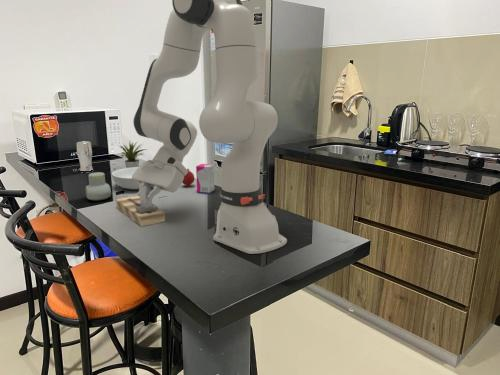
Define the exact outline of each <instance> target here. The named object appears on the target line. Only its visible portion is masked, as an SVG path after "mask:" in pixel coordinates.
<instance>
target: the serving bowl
mask: <svg viewBox="0 0 500 375" xmlns="http://www.w3.org/2000/svg"><path fill="white" fill-rule="evenodd" d="M137 169H138V167H131V168H126V167H125V168H121V169H120V168H119V169H117V170H114V171H113V172H112V173H111V176H112V180H113V182H114V183H115V185H117V186H119V187H120V188H123V189H126V190H127V189H129V190H134V191H135V190H136V191H137V190H138V191H139V186H140V184H138V183H137V182H135V181H134V180H133V179H132V175H133V174H134V172H135V171H136V170H137Z"/></svg>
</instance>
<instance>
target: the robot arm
mask: <svg viewBox="0 0 500 375" xmlns="http://www.w3.org/2000/svg"><path fill="white" fill-rule="evenodd" d="M172 7H173V8H172V10H171V11H170V14H169V17H168V19H167V20H168V21H167V23H166V27H165V32H164V36H163V43H162V49H161V52H160V54H159V55H158V57H157V58H155V59H153V60H152V62H151V64H150V66H149V69H148V72H147V75H146V79H145V81H144V82H145V83H144V86H143V91H142V94H141V98H140V101H139V105H138V108H137V109H136V111H135V114H134V116H133V126H134V130H135V132H136V133H137V135H138V136H140V137H144V138H148V139H152V140H154V141H157V142H159V143H163V145H162V146H160V147H159V149H158V150H157V152H156V154H155V155H154V157H153V158H152V159H148V160H146V161H144V162H142V163H140V164H139V167H138V169H137V170H136V171H135V172H134V174H133V175H132V179H133V180H134V181H135V182H137V183H138V184H140V186H143V185H147V186H151V188H153V189H151V192H148V193H147V195H146V197H147V198H148V199H150V200H152V201H153V198H155V196H157V195H158V194H160V193H161V190H162V191H165V192H170V193H175V192H177V191H178V189H179V188H180V186H181V185H182V184H183V183H182V181H183V179H184V176H185V175H187V173H188V170H187V169H188V168H186V166H184V165H183V160H184V158H185V157H186V155H188V154H189V152H190V150H191V149H192V148H193V145H194V143H195V141H196V139H197V136H198V129H197V128H196V126H195V125H194V124H193V123H192V122H190V121H188V120H186V119H183V118H182V117H179V116H177V115H175V114H171V113H169V112H164V111H162V110H160V109H159V108H158V103H159V100H160V96H161V93H162V89H163V86H164V84H165V83H166V82H167V81H169V80H171V79H176V78H184V77H187V76H189V75H191V74H193V73H194V71H196V69H197V67H198V65H199V60H200V56H201V55H200V54H201V48H202V41H203V37H204V35H205V33H206V32H207V31H209V30H210V31H211V32H212V33H213V36H214V48H215V51H214V52H215V67H216V68H215V69H216V79H215V80H216V81H215V87H214V90H213V94H212V97H211V99H210V101H209V102H208V103H207V105H206V106H205V107H203V109H202V111H201V113H200V115H199V120H198V126H199V130H200V132H201V134H202V136H203V138H204V139H206V141H208V142H211V143H218V144H230V143H232V146H231V149H230V151H229V152H228V154H227V155H226V156H225V157H224V158H223V159H222V162H221V165H220V166H221V169H220V170H221V172H220V173H221V176H220V177H221V178H220V179H221V186H220V190H219V201H220V202H221V203H220V205H219V208H218V211H217V217H216V229H215V230H216V231H215V233H214V235H212V236H213V237H212V239H213V241H215V242H217V243H218V242H219V243H221V244H223V245H226V246H227V247H230V248H233V249H236V250H238V251H241V252H243V253H246V254H249V255H250V254H251V255H253V254H254V255H255V254H262V253H268V252H271V251H274V250H277V249H279V248H282V247H283V246H285V245H286V244H287V242H288V239H287V238H286V237H285V236H284V235H282V234H280V232H279V230H280V229H279V224H278V221H277V217H276V216H275V215H274V214H272V212H270V210H269V209H268V207H267V206H266V205H265V203H264V199H265V198H266V197H265V196H266V194H263V193H262V190H261V187H260V170H261V161H262V157H263V154H264V153H263V152H264V150H265V148H266V147H265V146H266V144H267V142H268V140H269V138H270V137H271V135H273V133H274V132H275V131H276V129H277V127H278V124H279V122H278V120H279V117H278V113H277V111H276V108H274V106H273V105H271V104H270V103H266V102H263V101H260V100H249V101H247V94H248V91H249V88H250V86H251V85H252V84H254V83H255V81H256V80H257V78H258V60H257V59H258V58H257V45H256V44H257V43H256V42H257V41H256V33H255V27H254V23H253V18H252V14H251V11H250V10H249V9H248V8H247V7H246V6H244V5H243V3H242V0H172ZM137 196H139V197H140V191H139V190H138V192H137Z"/></svg>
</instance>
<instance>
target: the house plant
mask: <svg viewBox="0 0 500 375" xmlns="http://www.w3.org/2000/svg"><path fill="white" fill-rule="evenodd" d="M128 142H129V143H128V146H129V148H128V146H127V145H126V143H123V145H119V147H120V148H121V149H122V150H123V152H120V154H121V155H120V157H125V158H127V159H125V160H124V165H125V168H131V167H139V166H140V159H137V158H138V157H139V156H145V153H144V152H143V151H146V150H148V149H146V148H145V149H140V148H142V146H143V143H141V144H139V145H138V146H137V147H136V145H137V144H138V141H137V142H135V143H133V142H132V143H131V141H128ZM135 147H136V148H135ZM134 149H135V150H134ZM138 149H139V150H138Z"/></svg>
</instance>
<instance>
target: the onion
mask: <svg viewBox="0 0 500 375" xmlns="http://www.w3.org/2000/svg"><path fill="white" fill-rule="evenodd" d="M186 169H187V170H188V173H187V175H185V176H184V179H183V181H182V183H181V184H183V185H184V186H186V187H190V186H191V185H193V184H194V182H195V175H194V173H193V172H192V171H190V169H189V168H186Z"/></svg>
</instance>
